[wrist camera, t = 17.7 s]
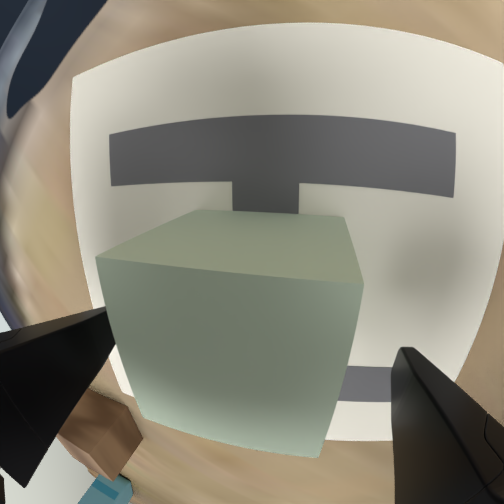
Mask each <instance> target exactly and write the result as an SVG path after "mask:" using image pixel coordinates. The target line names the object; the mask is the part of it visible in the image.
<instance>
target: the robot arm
mask: <svg viewBox="0 0 504 504" xmlns="http://www.w3.org/2000/svg"><path fill="white" fill-rule="evenodd" d="M115 345H116V342H115V339H114V336H113V332H112V329H111V325H110V322H109V318H108V314H107V310H106V306H103V307H100V308H96V309H92V310H88V311H85V312H81V313H77V314H73V315H70V316H66V317H62V318H58V319H54V320H50V321H46V322H43V323H39V324H35V325H31V326H27V327H23V328H19V329H15V330H11V331H7V332H2V333H0V468H2V469H3V470H4V471H5V472H6V473H8V474H9V475H10V476H11V477H12V478H13V479H14V480H15V481H16V482H18V483H19V484H20V485H21V486H22V487H23V488H25V487H26V486H27V485H28V483H29V481H30V479H31V478H32V476H33V474H34V472H35V471H36V469H37V467H38V465H39V464H40V462H41V460H42V459H43V457H44V455H45V453H46V452H47V450H48V448H49V447H50V445H51V443H52V442H53V440H54V439H55V437H56V436H57V434H58V432H59V431H60V429H61V428H62V426H63V425H64V423H65V421H66V420H67V418H68V417H69V415H70V414H71V412H72V411H73V409H74V408H75V406H76V405H77V403H78V402H79V400H80V399H81V397H82V396H83V394H84V393H85V391H86V390H87V389H88V387H89V386H90V384H91V383H92V381H93V380H94V378H95V377H96V376H97V374H98V373H99V371H100V370H101V368H102V367H103V365H104V364H105V362H106V360H107V358H108V357H109V355H110V353H111V351H112V350H113V348H114V346H115ZM391 428H392V439H393V453H394V474H395V504H504V427H503V426H502V425H501V424H500V423H499V422H497V421H496V420H495V419H494V418H493V417H492V416H491V415H490V414H487V411H485V410H484V409H483V408H482V407H481V406H480V405H479V404H478V403H477V402H476V401H475V400H473V399H472V398H471V397H470V396H469V395H468V394H467V393H466V392H465V391H463V390H462V389H461V388H460V387H459V386H458V385H457V384H456V383H454V382H453V381H452V380H451V379H450V378H449V377H448V376H447V375H445V374H444V373H443V372H442V371H441V370H440V369H439V368H437V367H436V366H435V365H434V364H433V363H432V362H430V361H429V360H428V359H427V358H426V357H425V356H424V355H422V354H421V353H420V352H419V351H418V350H416V349H415V348H414V347H400V348H399V350H398V352H397V355H396V358H395V361H394V364H393V367H392V370H391ZM0 504H5V492H4V478H3V477H2V476H1V474H0Z"/></svg>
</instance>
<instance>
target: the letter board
mask: <svg viewBox="0 0 504 504" xmlns="http://www.w3.org/2000/svg"><path fill="white" fill-rule="evenodd" d="M70 159H71V178H72V191H73V201H74V210H75V218H76V226H77V233H78V239H79V245H80V251H81V256H82V261H83V266H84V271H85V276H86V280H87V285H88V289H89V293H90V297H91V301H92V305H93V308H94V309H96V308H100V307H103V306H105V302H104V298H103V294H102V289H101V285H100V280H99V275H98V270H97V265H96V260H95V256H97V255H99V254H101V253H103V252H105V251H107V250H109V249H111V248H113V247H115V246H117V245H119V244H121V243H123V242H125V241H128V240H130V239H132V238H134V237H136V236H138V235H140V234H142V233H145V232H147V231H149V230H151V229H153V228H156V227H158V226H160V225H162V224H164V223H167V222H169V221H171V220H173V219H176V218H178V217H180V216H183V215H185V214H187V213H190V212H192V211H194V210H221V211H248V212H270V213H289V214H305V215H320V216H334V217H344V219H345V222H346V225H347V228H348V231H349V234H350V237H351V240H352V243H353V247H354V250H355V253H356V257H357V260H358V263H359V267H360V270H361V274H362V278H363V281H364V288H363V294H362V300H361V305H360V311H359V316H358V321H357V326H356V331H355V335H354V340H353V344H352V348H351V353H350V357H349V361H348V365H347V369H346V373H345V376H344V380H343V384H342V387H341V391H340V394H339V398H338V401H337V404H336V408H335V411H334V414H333V417H332V420H331V423H330V426H329V429H328V432H327V435H326V438H325V440H341V441H390V440H393V439H392V428H391V370H392V367H393V364H394V361H395V358H396V355H397V352H398V350H399V348H400V347H414V348H415V349H416V350H418V351H419V352H420V353H421V354H422V355H424V356H425V357H426V358H427V359H428V360H429V361H430V362H432V363H433V364H434V365H435V366H436V367H437V368H439V369H440V370H441V371H442V372H443V373H444V374H445V375H447V376H448V377H449V378H450V379H451V380H452V381H453V382H455V380H456V378H457V376H458V374H459V372H460V370H461V368H462V366H463V364H464V362H465V360H466V358H467V355H468V353H469V351H470V349H471V346H472V344H473V342H474V339H475V337H476V334H477V332H478V329H479V326H480V324H481V321H482V318H483V316H484V313H485V310H486V307H487V304H488V301H489V297H490V294H491V291H492V287H493V284H494V280H495V277H496V273H497V269H498V265H499V260H500V256H501V251H502V246H503V241H504V66H503V63H501V62H499V61H497V60H495V59H492V58H490V57H487V56H485V55H482V54H480V53H477V52H474V51H472V50H469V49H466V48H463V47H460V46H457V45H454V44H451V43H447V42H444V41H441V40H437V39H433V38H429V37H425V36H421V35H417V34H412V33H407V32H402V31H397V30H391V29H385V28H378V27H371V26H362V25H352V24H338V23H278V24H264V25H253V26H244V27H236V28H229V29H223V30H217V31H211V32H206V33H201V34H196V35H192V36H187V37H183V38H179V39H175V40H171V41H168V42H164V43H160V44H157V45H154V46H150V47H147V48H144V49H141V50H138V51H135V52H132V53H129V54H127V55H124V56H121V57H119V58H116V59H113V60H111V61H108V62H106V63H104V64H101V65H99V66H96V67H94V68H92V69H90V70H88V71H85V72H83V73H81V74H79V75H77V76H75V77H73V83H72V95H71V113H70ZM109 359H110V362H111V365H112V368H113V370H114V373H115V375H116V378H117V381H118V383H119V385H120V388H121V390H122V392H123V393H125V394H128V395H130V396H133V397H134V394H133V392H132V389H131V386H130V384H129V381H128V378H127V376H126V373H125V370H124V367H123V364H122V361H121V358H120V355H119V352H118V349H117V346H116V345H115V346H114V348H113V350H112V351H111V353H110V355H109Z"/></svg>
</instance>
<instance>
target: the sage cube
mask: <svg viewBox="0 0 504 504" xmlns="http://www.w3.org/2000/svg"><path fill="white" fill-rule="evenodd" d="M95 260H96V265H97V270H98V275H99V280H100V285H101V289H102V294H103V298H104V302H105V306H106V310H107V314H108V318H109V322H110V325H111V329H112V332H113V336H114V339H115V342H116V346H117V349H118V352H119V355H120V358H121V361H122V364H123V367H124V370H125V373H126V376H127V378H128V381H129V384H130V386H131V389H132V392H133V394H134V397H135V399H136V402H137V404H138V407H139V409H140V411H141V414H142V416H143V418H146V419H148V420H151V421H153V422H156V423H159V424H162V425H165V426H167V427H170V428H173V429H176V430H179V431H182V432H186V433H189V434H192V435H196V436H199V437H203V438H206V439H210V440H214V441H218V442H222V443H226V444H230V445H235V446H239V447H244V448H249V449H254V450H260V451H265V452H272V453H278V454H286V455H294V456H303V457H313V458H318V457H319V454H320V452H321V449H322V446H323V443H324V441H325V438H326V435H327V432H328V429H329V426H330V423H331V420H332V417H333V414H334V411H335V408H336V404H337V401H338V398H339V394H340V391H341V387H342V384H343V380H344V376H345V373H346V369H347V365H348V361H349V357H350V353H351V348H352V344H353V340H354V335H355V331H356V326H357V321H358V316H359V311H360V305H361V300H362V294H363V288H364V281H363V278H362V274H361V270H360V267H359V263H358V260H357V257H356V253H355V250H354V247H353V243H352V240H351V237H350V234H349V231H348V228H347V225H346V222H345V219H344V217H334V216H320V215H305V214H289V213H270V212H248V211H221V210H194V211H192V212H190V213H187V214H185V215H183V216H180V217H178V218H176V219H173V220H171V221H169V222H167V223H164V224H162V225H160V226H158V227H156V228H153V229H151V230H149V231H147V232H145V233H142V234H140V235H138V236H136V237H134V238H132V239H130V240H128V241H125V242H123V243H121V244H119V245H117V246H115V247H113V248H111V249H109V250H107V251H105V252H103V253H101V254H99V255H97V256H95Z"/></svg>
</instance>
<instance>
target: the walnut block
mask: <svg viewBox="0 0 504 504" xmlns="http://www.w3.org/2000/svg"><path fill="white" fill-rule="evenodd" d="M56 437H57V438H58V439H59V441H60V442H61V443H62V444H63V446H64V447H65V448H66V449H67V451H68V452H69V453H70V454H71V455H72V456H73V457H74V458H75V459H76V460H78V461H79V462H81V463H82V464H84V465H85V466H87V467H89V468H90V469H92V470H94V471H95V472H97V473H99V474H100V475H102V476H104V477H105V478H107V479H109V480H111V481H113V482H114V480H115V479H116V477H117V476H118V474H119V473H120V472H121V470H122V469H123V467H124V466H125V464H126V463H127V461H128V460H129V459H130V457H131V456H132V454H133V453H134V451H135V450H136V448H137V447H138V445H139V444H140V442H141V441H142V440H143V437H142V435H141V433H140V431H139V429H138V427H137V425H136V423H135V421H134V419H133V417H132V415H131V413H130V411H129V409H128V407H127V406H125V405H123V404H121V403H118V402H116V401H114V400H111V399H109V398H107V397H105V396H103V395H101V394H98V393H96V392H94V391H92V390H90V389H87V390H86V391H85V393H84V394H83V396H82V397H81V399H80V400H79V402H78V403H77V405H76V406H75V408H74V409H73V411H72V412H71V414H70V415H69V417H68V418H67V420H66V421H65V423H64V425H63V426H62V428H61V429H60V431H59V432H58V434H57V436H56Z"/></svg>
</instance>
